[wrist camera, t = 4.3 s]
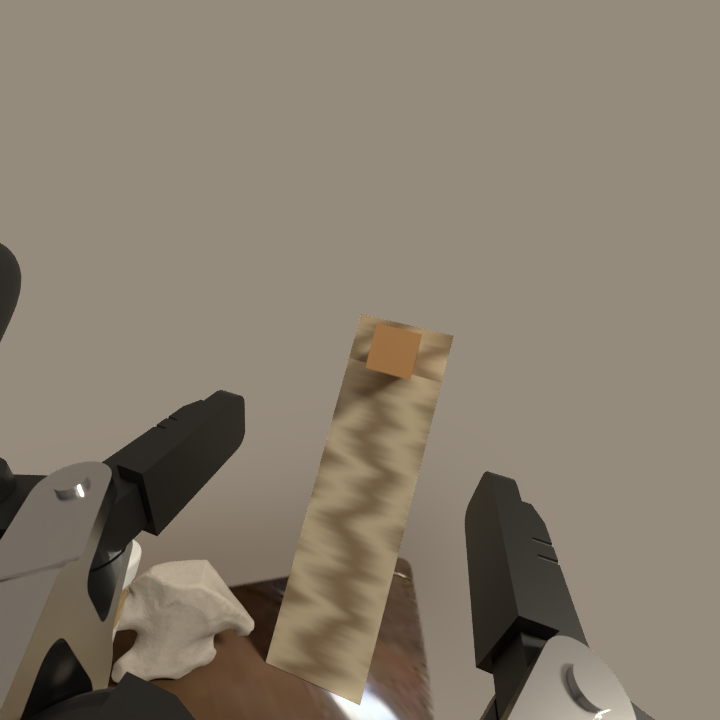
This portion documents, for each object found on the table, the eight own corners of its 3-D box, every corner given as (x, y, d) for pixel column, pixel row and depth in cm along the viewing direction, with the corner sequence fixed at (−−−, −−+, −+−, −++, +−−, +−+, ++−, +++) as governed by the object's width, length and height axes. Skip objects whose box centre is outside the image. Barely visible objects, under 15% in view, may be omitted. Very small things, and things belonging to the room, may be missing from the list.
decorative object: (239, 644, 31) (266, 549, 31) (245, 678, 28) (275, 572, 28) (94, 680, 24) (131, 560, 25) (82, 729, 21) (125, 592, 22)
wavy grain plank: (265, 662, 29) (361, 314, 32) (298, 593, 39) (370, 331, 42) (360, 704, 28) (453, 335, 30) (369, 622, 38) (439, 348, 40)
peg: (365, 367, 19) (376, 323, 19) (384, 366, 37) (390, 343, 37) (410, 379, 19) (422, 334, 18) (407, 372, 36) (413, 349, 36)
